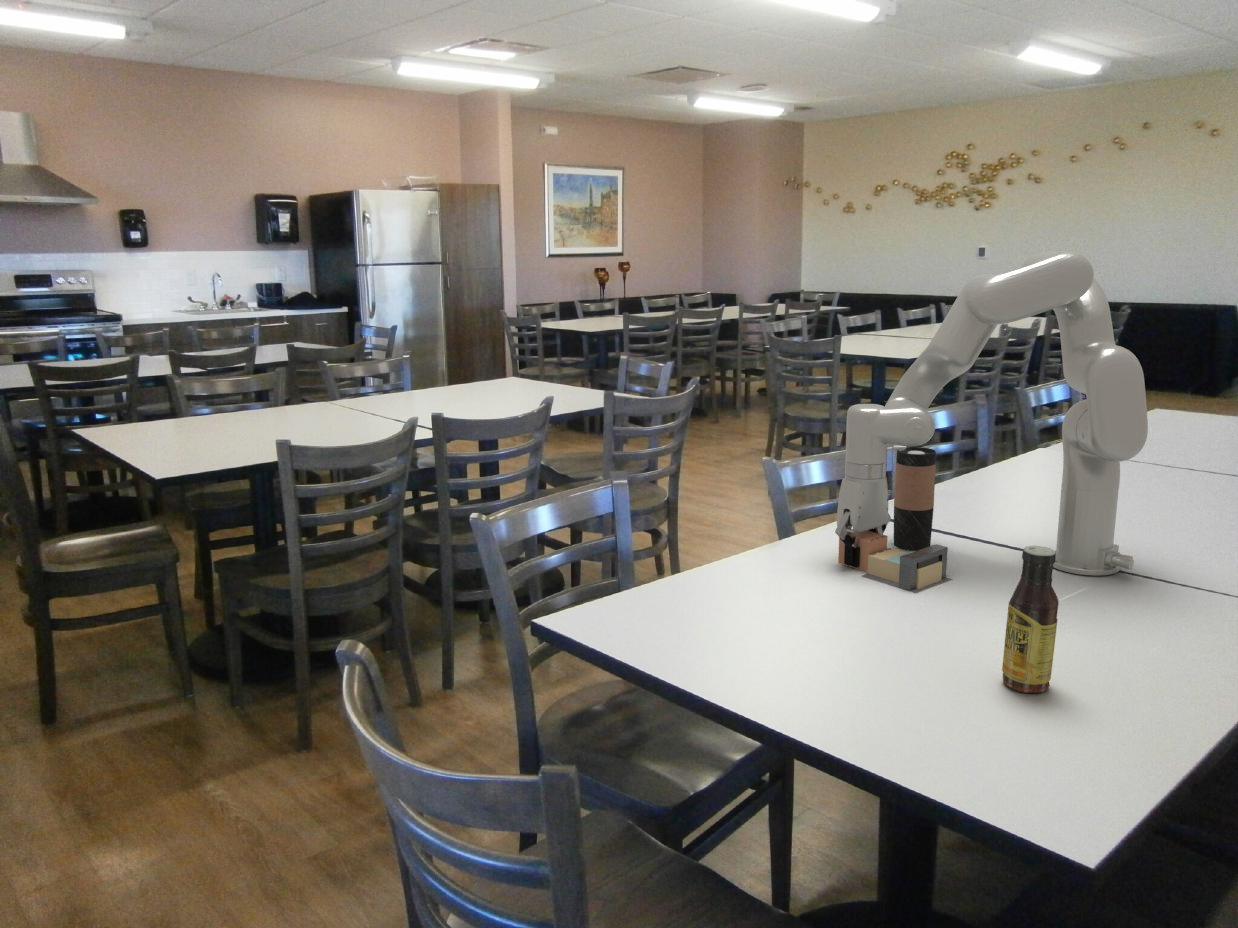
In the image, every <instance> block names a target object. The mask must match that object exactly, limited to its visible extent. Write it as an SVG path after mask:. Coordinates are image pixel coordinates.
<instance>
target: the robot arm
mask: <svg viewBox="0 0 1238 928" xmlns="http://www.w3.org/2000/svg"><path fill="white" fill-rule="evenodd" d="M1094 274H1095V273H1094V267H1093V265H1092V263H1091V262H1090V260H1089V259H1088V258H1087V257H1086V256H1084V255H1082V254H1081V253H1077V252H1075V251H1066V250H1065V251H1062V250H1061V251H1057V250H1051V251H1049V250H1047V251H1040V252H1037V253H1034V254H1032V255H1030V256H1029V257H1028V258H1027V259H1026V260H1025V261H1024V262H1023V264H1022V266H1021V267H1019V268H1017V269H1015V270H1011V271H1007V272H1003V273H997V274H996V273H982V274H978V275H975V276H973V277H972V278H971V279H969V280H968V281H967V282H966V283H965V285H964V286H963V288H962V289H961V290H960V292H959V294H958V295H957V297H956V299H955V301H954V302H953V303H952V306H951V307H950V309H949V311H948V312H947V314H946V315H945V318H944V319H943V321H942V322H941V324H940V326H939V327H938V328H937V331H936V332H935V333H934V336H933V337H932V338H931V340H930V342H929V343H928V345H927V346H926V348H925V349H923V351H922V352H921V353H920V355H918V357H917V358H916V359H915V360H914V362H913V363H912V364H911V365H910V367H908V369H907V370H906V371H905V373H904V374H903V375H902V377H901V379H900V380H899V382H898V383H897V384H896V386H895V388H894V389H893V391H892V393H891V395H890V396H889V398H888V400H887V402H886V403H885V404H884V405H881V404H877V403H857V404H854V405H851V406H850V407H848V409H847V413H846V428H845V429H846V431H845V432H846V433H845V461H844V464H845V465H844V478H842V481H841V483H840V489H839V494H838V502H837V509H836V510H837V511H836V512H837V513H836V514H837V515H836V528H835V530H834V531H835V534H836V535H837V537H838V538H839V537H840V539H841V540H842V541H843V542H842V543H843V545H845V550H844V563H845V564H846V565H849V566H852V567H851V568H853V567H856V568H857V567H859V561H860V547H857V546H858V543H859V539H860V535H861V532H863V531H866V530H867V531H871V532H874V533H878V534H882V535H884V532H885V530H886V529H887V526H888V524H889V523H890V521H891V520H892V519H891V518H892V517H891V515H890V514H889V489H888V487H889V486H888V478H887V465H888V445H893V446H894V445H895V446H901V447H921V446H922V445H924V444H926V443H927V442H929V441H930V440H931V439H932V437H933V436H934V434H935V430H936V423H935V419H934V418H933V416H932V415H931V413H930V412H929V411H928V409H929V407H930V405H931V404H932V402H933V401H934V399H935V397H937V395H938V394H939V393H940V391H941V390H942V389H943V388H944V387H945V386H946V385H947V384H948V383H949V382H951V381H952V380H954V379H956V378H958V377H960V376H961V375H963V374H965V372H967V371H968V370H970V369H971V368H972V367H973V365H974V364H975V362H976V360H977V359H978V357H979V355H980V354H981V352H982V351H983V349H984V347H985V346H986V344H987V343H988V341H989V339H990V338H991V336H992V334H993V333H994V331H995V330H996V328H997V326H999V325H1005V324H1010V323H1014V322H1017V321H1021V320H1024V319H1027V318H1031V317H1033V316H1037V315H1039V314H1041V313H1046V312H1048V311H1051V310H1053V311H1054V312H1053V313H1054V314H1055V316H1056V320H1057V325H1058V329H1059V336H1060V337H1059V338H1060V345H1061V346H1060V347H1061V358H1062V371H1063V377H1064V380H1065V382H1066V384H1067V385H1068V386H1069V387H1070V388H1071V389H1073V390H1074V391H1076V392H1078V393H1081V394H1083V395H1086V397H1085V398H1086V399H1082V400H1080V401H1078V402H1076V403H1074V404H1073V405H1072V406H1071V407H1070V408H1069V409H1068V410H1067V412H1066V413H1065V415H1064V418H1063V421H1062V425H1061V437H1062V450H1063V451H1062V452H1063V453H1062V454H1063V458H1062V459H1063V461H1062V463H1063V464H1062V466H1063V467H1062V478H1061V479H1062V480H1061V488H1060V489H1061V490H1060V498H1059V499H1060V500H1059V510H1058V525H1057V535H1056V547H1055V548H1056V549H1055V550H1054V551H1055V552H1056V559H1055V562H1054V564H1053V568H1054V569H1057V570H1059V571H1062V572H1066V573H1070V574H1075V575H1081V576H1095V577H1096V576H1109V575H1114V574H1117V573H1118V572H1120V571H1121V568H1123V569H1126V570H1132V569H1133V567H1134V565H1135V561H1134V557H1133V556H1132V555H1129V554H1122V553H1121V552H1120V551H1119V549H1120V545H1119V544H1118V545H1117V544H1114V540H1115V531H1116V520H1117V511H1118V501H1119V499H1118V498H1119V490H1120V483H1121V481H1120V480H1121V462H1126V461H1129V460H1131V459H1132V458H1134V457H1136V456H1137V455H1139V453H1141V451H1142V449H1144V447H1145V445H1146V443H1147V439H1148V434H1149V433H1148V432H1149V423H1148V422H1149V421H1148V407H1147V406H1148V405H1147V395H1146V385H1145V376H1144V370H1143V367H1142V365H1141V363H1140V361H1139V359H1138V357H1136V355H1135V354H1134V353H1133V352H1132V351H1131V350H1129V349H1127V348H1125V347H1123V346H1121V345H1117V344H1116V340H1115V334H1114V329H1113V320H1112V315H1111V309H1110V305H1109V301H1108V298H1107V295H1106V293H1105V291H1104V289H1103V288H1102V286H1101V285H1100V284H1099V282H1098V281H1097V280H1096V279H1095V277H1094V276H1095V275H1094ZM851 533H855V534H854V537H853V538H852V537H851V536H850V535H851ZM846 565H845V566H846ZM849 566H848V567H849ZM856 568H855V569H856Z"/></svg>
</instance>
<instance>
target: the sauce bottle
mask: <svg viewBox="0 0 1238 928" xmlns="http://www.w3.org/2000/svg"><path fill="white" fill-rule="evenodd" d="M1055 551H1056V550H1054V549H1052V548H1050V547H1046V546H1041V545H1029V546H1028V545H1027V546H1026V547H1024V548H1023V549H1022V554H1021V559H1022V567H1021V569H1022V570H1021V575H1020V579H1019V581H1018V583H1017V584H1016V587H1015V589H1014V591H1013V594H1012V595H1011V597H1010V599H1009V601H1008V606H1007V617H1006V624H1005V625H1006V627H1005V637H1004V647H1003V656H1002V667H1001V671H1002V681H1003V684H1004V685H1005V686H1007V687H1008V688H1011V689H1012V690H1015V691H1017V692H1018V693H1023V694H1024V693H1027V694H1040V693H1043V692H1045V691H1047V690H1049V687H1050V681H1051V678H1052V671H1053V662H1054V655H1055V654H1054V653H1055V644H1056V635H1057V627H1058V626H1057V625H1058V611H1059V599H1058V595H1057V593H1056V592H1055V589H1054V588H1053V586H1052V583H1053V568H1054V567H1053V564H1054V562H1055V559H1056V552H1055Z"/></svg>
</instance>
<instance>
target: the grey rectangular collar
mask: <svg viewBox="0 0 1238 928" xmlns="http://www.w3.org/2000/svg"><path fill="white" fill-rule="evenodd" d="M948 549H949V547H948V546H945V545H941V544H933V545H930V547H927V548H924V549H921V550H918V551H911V552H910V553H909V554H906V555H903V556H900V568H899V588H898V589H900V588H902V589H901V590H903V589H905V590H904V591H907V590H908V591H907V592H910V591H912V590H914V589H916V570H917V569H920V568H922V567H925V566H928V565H931V564H934V563H936V562H938V561H941V562H942V577H941V579H943V578H946V577H947V567H948Z"/></svg>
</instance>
